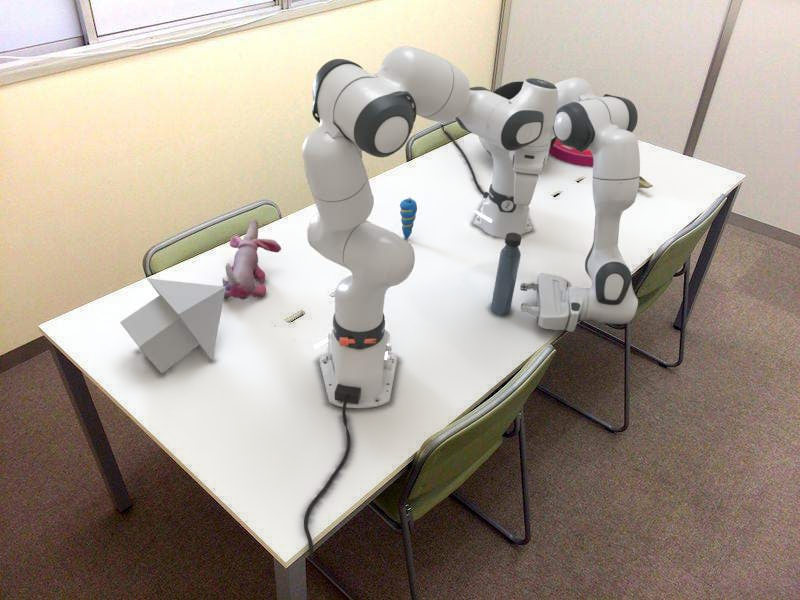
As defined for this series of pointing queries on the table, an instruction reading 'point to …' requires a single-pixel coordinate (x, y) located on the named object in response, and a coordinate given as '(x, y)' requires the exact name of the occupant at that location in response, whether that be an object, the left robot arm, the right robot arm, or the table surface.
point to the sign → (571, 154)
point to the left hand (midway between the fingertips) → (519, 203)
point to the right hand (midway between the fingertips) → (520, 296)
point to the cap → (513, 240)
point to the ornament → (408, 216)
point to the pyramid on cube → (176, 321)
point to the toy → (247, 265)
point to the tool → (644, 183)
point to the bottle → (505, 280)
